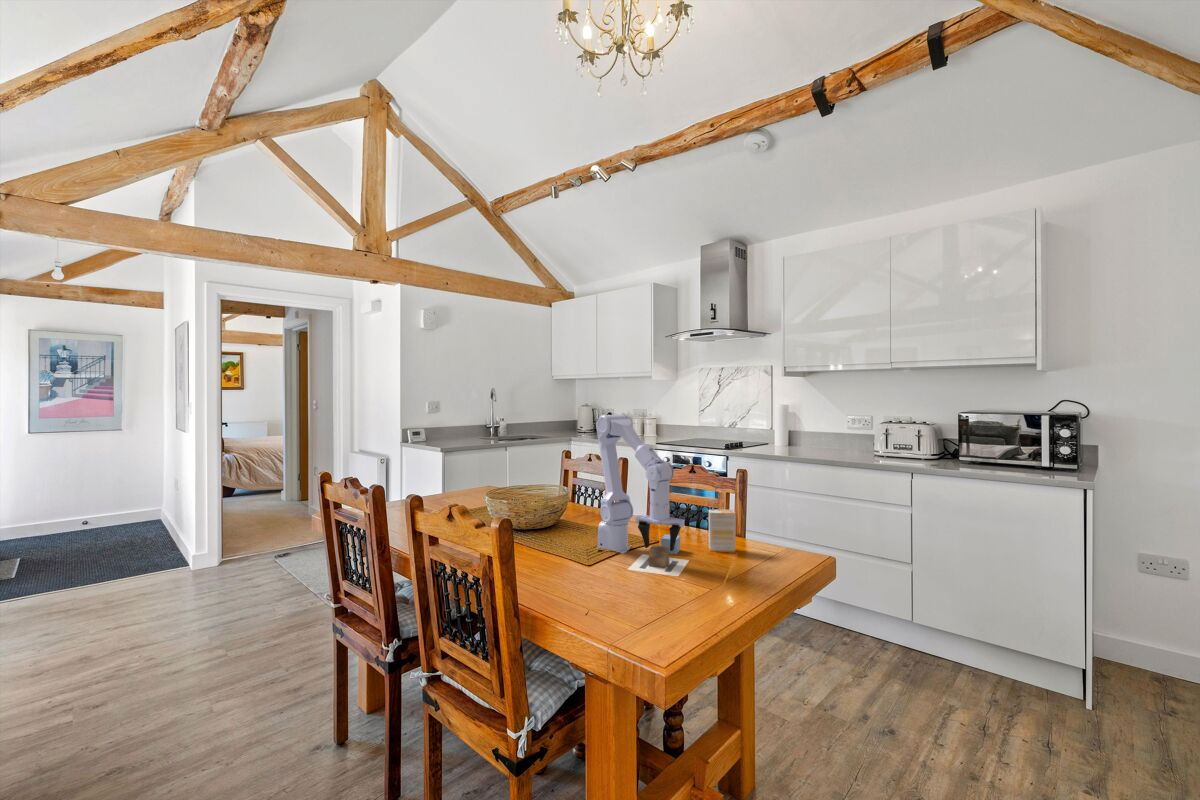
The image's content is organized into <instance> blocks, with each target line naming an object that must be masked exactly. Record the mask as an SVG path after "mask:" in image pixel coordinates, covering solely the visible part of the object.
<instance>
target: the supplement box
mask: <svg viewBox="0 0 1200 800" xmlns="http://www.w3.org/2000/svg"><path fill="white" fill-rule="evenodd" d="M736 519H737V517H736V512H735V510H734V509H713V508H712V509H708V549H709V551H710V552H713V553H714V552H715V553H732V554H733V553H734V554H735V553H736V538H737V537H736V535H737V532H736Z"/></svg>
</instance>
